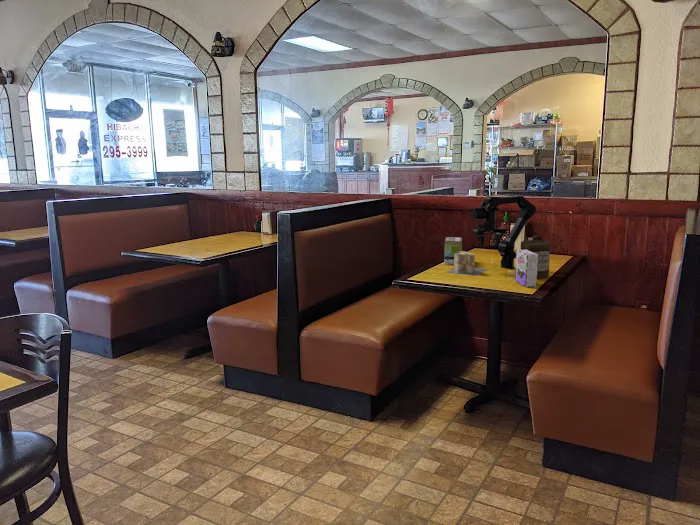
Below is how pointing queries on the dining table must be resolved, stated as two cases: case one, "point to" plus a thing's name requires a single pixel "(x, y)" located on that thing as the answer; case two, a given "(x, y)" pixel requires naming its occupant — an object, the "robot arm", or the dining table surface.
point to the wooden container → (539, 254)
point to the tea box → (452, 249)
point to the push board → (476, 272)
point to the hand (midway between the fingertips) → (489, 247)
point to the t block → (464, 261)
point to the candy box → (526, 268)
